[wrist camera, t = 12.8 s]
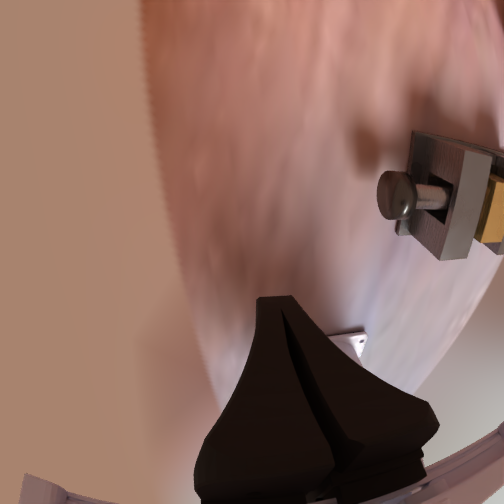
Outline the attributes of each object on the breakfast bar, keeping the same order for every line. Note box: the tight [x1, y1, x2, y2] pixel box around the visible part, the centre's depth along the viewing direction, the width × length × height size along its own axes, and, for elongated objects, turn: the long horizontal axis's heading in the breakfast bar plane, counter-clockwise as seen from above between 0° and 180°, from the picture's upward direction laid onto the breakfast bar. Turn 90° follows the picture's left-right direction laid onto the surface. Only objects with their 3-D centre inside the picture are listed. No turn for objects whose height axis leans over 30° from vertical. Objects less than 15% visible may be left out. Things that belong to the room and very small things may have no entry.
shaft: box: [377, 171, 486, 220], centre depth 17 cm, size 14×3×3 cm, turn 90°
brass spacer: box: [474, 172, 504, 243], centre depth 17 cm, size 3×5×5 cm, turn 0°
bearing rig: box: [396, 131, 504, 261], centre depth 18 cm, size 12×8×5 cm, turn 90°
